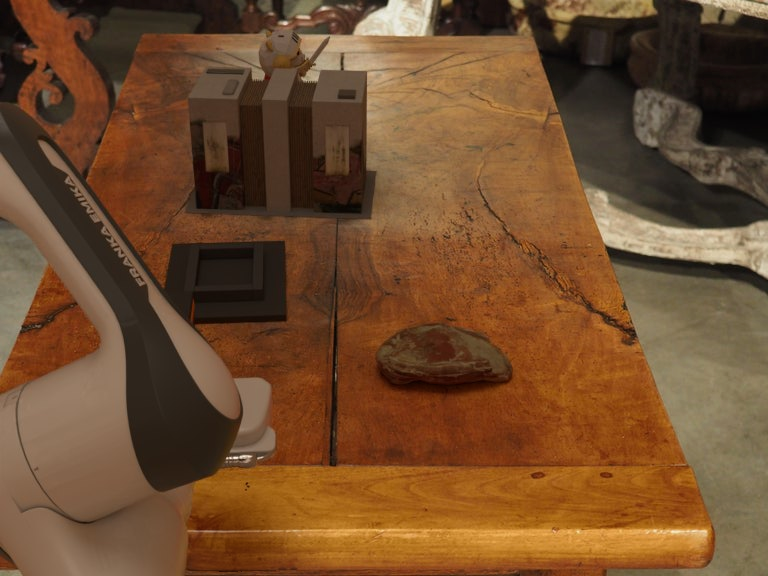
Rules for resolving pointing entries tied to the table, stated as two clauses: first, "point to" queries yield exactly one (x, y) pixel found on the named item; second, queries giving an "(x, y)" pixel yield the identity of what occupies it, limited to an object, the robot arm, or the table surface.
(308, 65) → the figurine
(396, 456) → the table surface
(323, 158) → the bookend
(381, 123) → the table surface
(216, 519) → the table surface
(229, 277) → the base pad
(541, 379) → the table surface
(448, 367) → the stone
